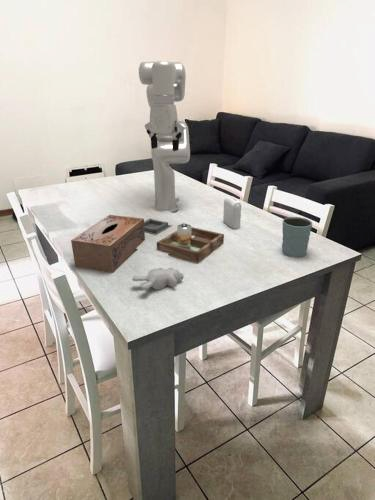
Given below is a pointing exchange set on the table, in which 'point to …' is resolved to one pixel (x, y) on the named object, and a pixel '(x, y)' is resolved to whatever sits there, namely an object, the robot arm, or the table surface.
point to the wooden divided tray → (192, 245)
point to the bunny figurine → (160, 278)
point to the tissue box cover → (108, 243)
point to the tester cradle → (155, 226)
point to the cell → (184, 236)
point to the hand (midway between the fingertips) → (164, 149)
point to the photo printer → (232, 212)
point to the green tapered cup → (296, 236)
